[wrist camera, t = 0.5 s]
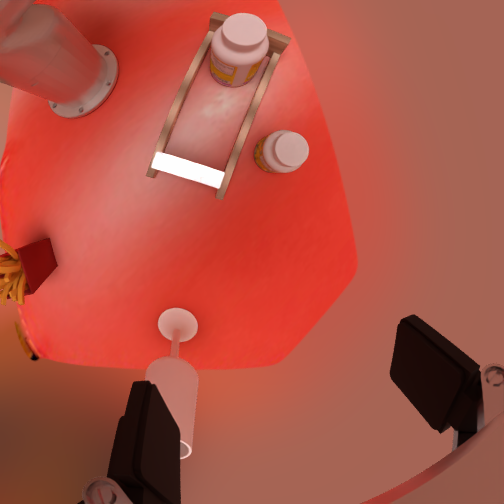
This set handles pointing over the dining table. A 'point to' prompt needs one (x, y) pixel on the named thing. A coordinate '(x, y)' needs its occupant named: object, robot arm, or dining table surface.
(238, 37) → the supplement bottle
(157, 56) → the dining table surface
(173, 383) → the champagne flute
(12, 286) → the french fries
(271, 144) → the supplement bottle
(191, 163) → the grey flat block
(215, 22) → the lane
